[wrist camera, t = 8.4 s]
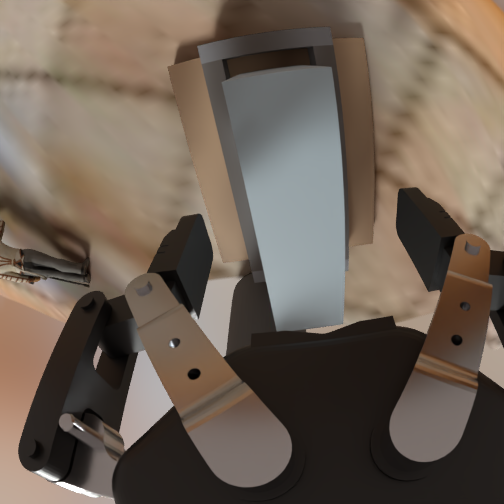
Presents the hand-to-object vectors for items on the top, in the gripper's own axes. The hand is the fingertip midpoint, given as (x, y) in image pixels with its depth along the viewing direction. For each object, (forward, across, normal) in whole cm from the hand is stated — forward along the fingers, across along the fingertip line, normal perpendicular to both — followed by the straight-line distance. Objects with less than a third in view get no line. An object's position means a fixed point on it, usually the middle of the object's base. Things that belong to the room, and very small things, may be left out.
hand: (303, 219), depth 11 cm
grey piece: (+8, 0, 0) cm, 8 cm away
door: (+7, 0, 0) cm, 7 cm away
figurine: (+8, +24, +3) cm, 26 cm away
